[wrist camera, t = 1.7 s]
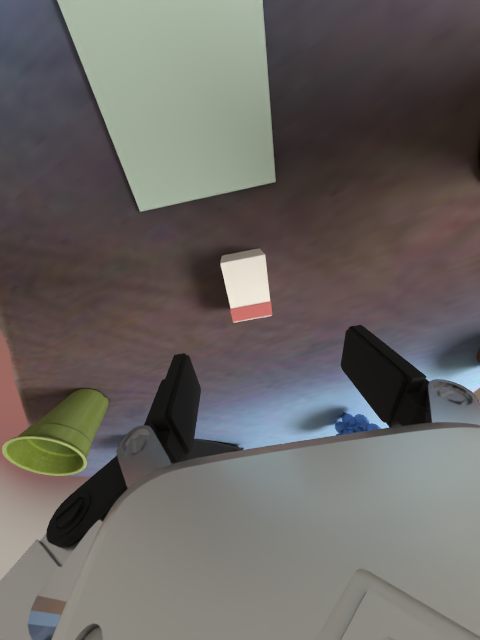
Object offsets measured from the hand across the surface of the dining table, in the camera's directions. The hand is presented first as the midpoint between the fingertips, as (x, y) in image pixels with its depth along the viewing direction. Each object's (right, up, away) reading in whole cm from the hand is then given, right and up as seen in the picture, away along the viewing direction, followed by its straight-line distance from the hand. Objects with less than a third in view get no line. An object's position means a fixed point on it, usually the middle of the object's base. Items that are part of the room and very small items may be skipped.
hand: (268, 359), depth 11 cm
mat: (-7, +25, +8) cm, 27 cm away
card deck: (-1, +9, +18) cm, 20 cm away
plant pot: (-34, -14, +29) cm, 47 cm away
